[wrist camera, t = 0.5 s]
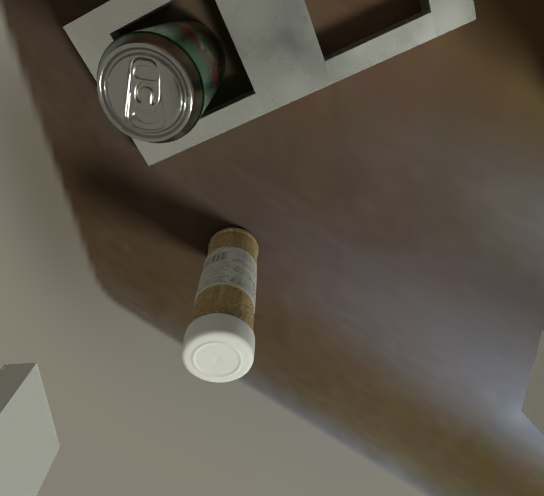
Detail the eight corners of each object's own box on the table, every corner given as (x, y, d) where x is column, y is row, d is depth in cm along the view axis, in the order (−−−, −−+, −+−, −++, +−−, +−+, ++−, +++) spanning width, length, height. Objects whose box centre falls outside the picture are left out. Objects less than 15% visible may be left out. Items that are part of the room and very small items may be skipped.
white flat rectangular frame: (431, -174, 23) (444, -188, 21) (463, 17, 27) (476, 19, 26) (75, 25, 28) (62, 26, 26) (155, 157, 32) (148, 165, 31)
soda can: (154, 92, 30) (92, 142, 20) (153, 13, 27) (81, 23, 17) (223, 102, 30) (198, 156, 20) (229, 25, 28) (204, 42, 17)
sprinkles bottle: (219, 273, 38) (196, 391, 27) (201, 232, 36) (167, 342, 24) (266, 261, 38) (263, 377, 26) (250, 219, 35) (239, 326, 24)
